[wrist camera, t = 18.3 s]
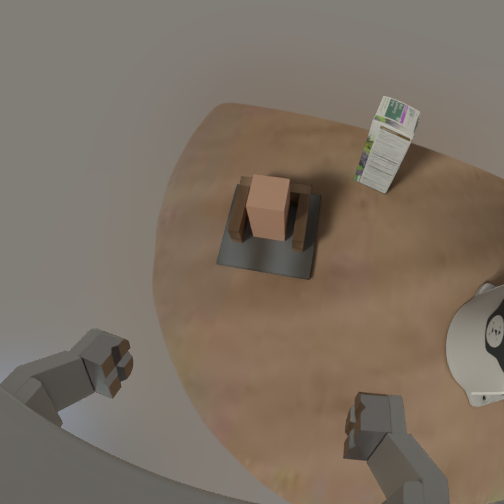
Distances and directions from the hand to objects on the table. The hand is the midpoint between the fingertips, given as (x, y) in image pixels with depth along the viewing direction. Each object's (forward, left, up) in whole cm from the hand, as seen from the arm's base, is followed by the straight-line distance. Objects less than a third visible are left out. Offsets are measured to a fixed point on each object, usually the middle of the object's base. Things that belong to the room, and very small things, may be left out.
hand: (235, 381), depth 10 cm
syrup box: (-11, -32, -32) cm, 46 cm away
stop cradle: (+4, -20, -32) cm, 38 cm away
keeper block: (+4, -20, -31) cm, 37 cm away
